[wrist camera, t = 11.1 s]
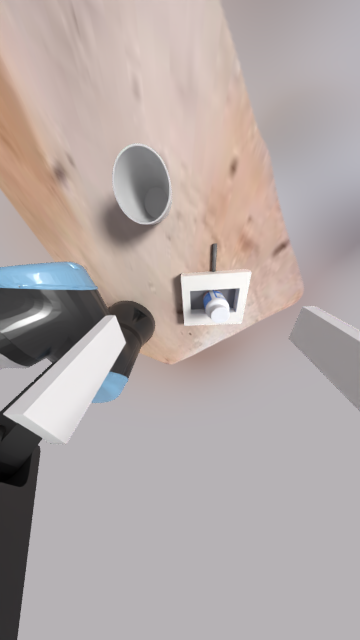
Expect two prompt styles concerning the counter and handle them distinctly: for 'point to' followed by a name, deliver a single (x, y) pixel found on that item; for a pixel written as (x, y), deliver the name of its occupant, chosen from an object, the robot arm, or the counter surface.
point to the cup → (142, 184)
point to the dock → (226, 282)
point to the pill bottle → (216, 306)
